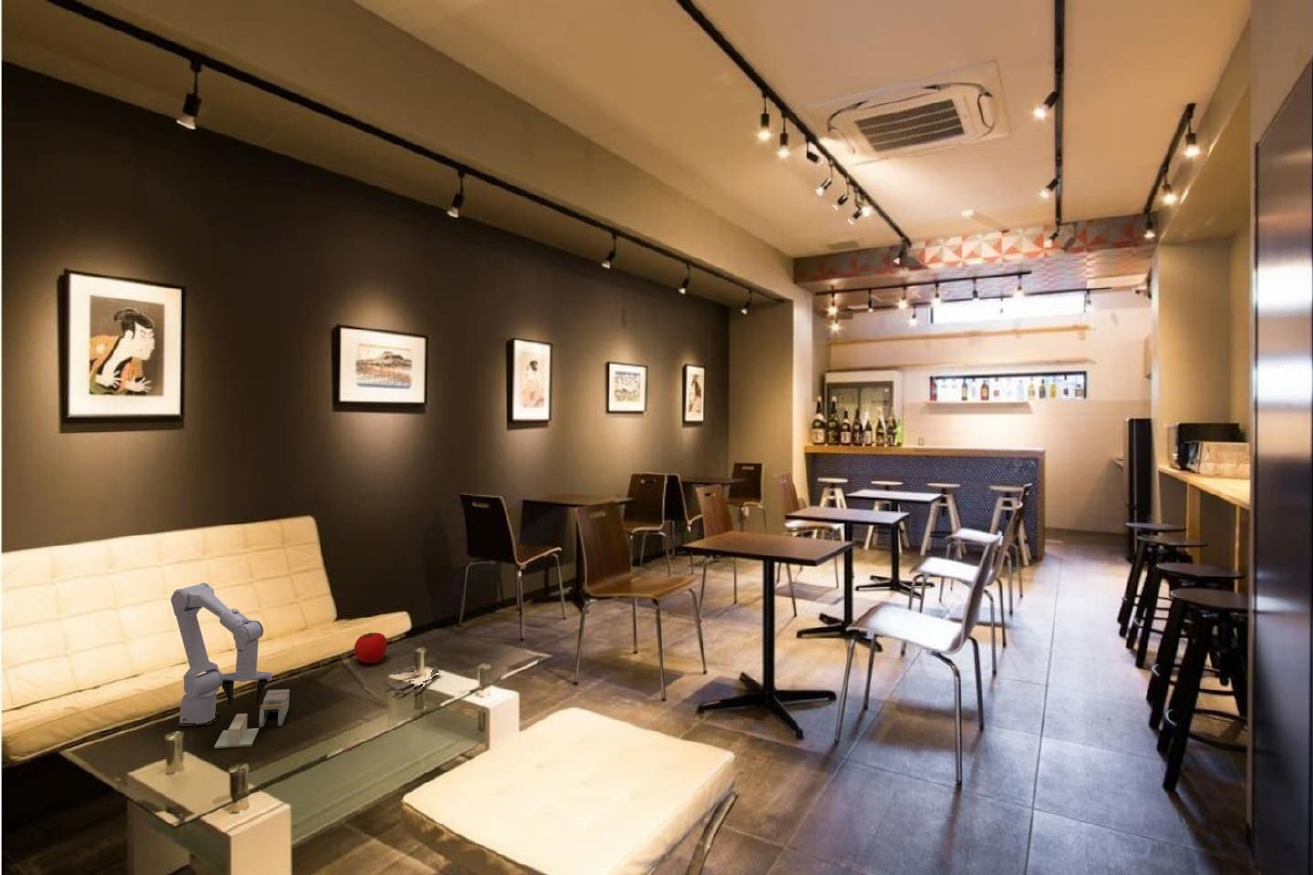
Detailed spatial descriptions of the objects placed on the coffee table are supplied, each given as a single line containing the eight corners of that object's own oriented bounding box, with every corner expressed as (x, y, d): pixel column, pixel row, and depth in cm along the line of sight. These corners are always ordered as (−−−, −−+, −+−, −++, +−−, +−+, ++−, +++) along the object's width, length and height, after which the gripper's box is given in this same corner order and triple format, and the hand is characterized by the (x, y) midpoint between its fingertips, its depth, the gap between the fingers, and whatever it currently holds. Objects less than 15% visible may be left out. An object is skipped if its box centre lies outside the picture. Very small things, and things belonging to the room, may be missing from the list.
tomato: (394, 659, 289) (396, 632, 288) (368, 670, 277) (370, 641, 276) (372, 652, 294) (374, 625, 294) (345, 662, 282) (347, 635, 281)
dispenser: (258, 727, 227) (260, 706, 226) (266, 709, 238) (267, 690, 238) (281, 725, 229) (282, 705, 228) (288, 708, 240) (289, 689, 240)
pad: (214, 748, 212) (214, 746, 212) (222, 732, 221) (223, 730, 221) (251, 745, 215) (251, 743, 215) (258, 729, 225) (258, 728, 225)
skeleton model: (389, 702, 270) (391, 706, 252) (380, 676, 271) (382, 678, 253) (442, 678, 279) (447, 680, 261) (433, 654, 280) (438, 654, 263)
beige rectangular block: (227, 745, 213) (228, 729, 213) (235, 729, 223) (236, 714, 222) (238, 744, 214) (239, 728, 214) (246, 728, 224) (247, 713, 223)
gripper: (216, 666, 215) (214, 709, 216) (269, 665, 219) (267, 707, 220) (223, 657, 221) (221, 699, 222) (274, 656, 226) (272, 697, 227)
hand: (244, 702), depth 222 cm, fingers open, 7 cm apart
